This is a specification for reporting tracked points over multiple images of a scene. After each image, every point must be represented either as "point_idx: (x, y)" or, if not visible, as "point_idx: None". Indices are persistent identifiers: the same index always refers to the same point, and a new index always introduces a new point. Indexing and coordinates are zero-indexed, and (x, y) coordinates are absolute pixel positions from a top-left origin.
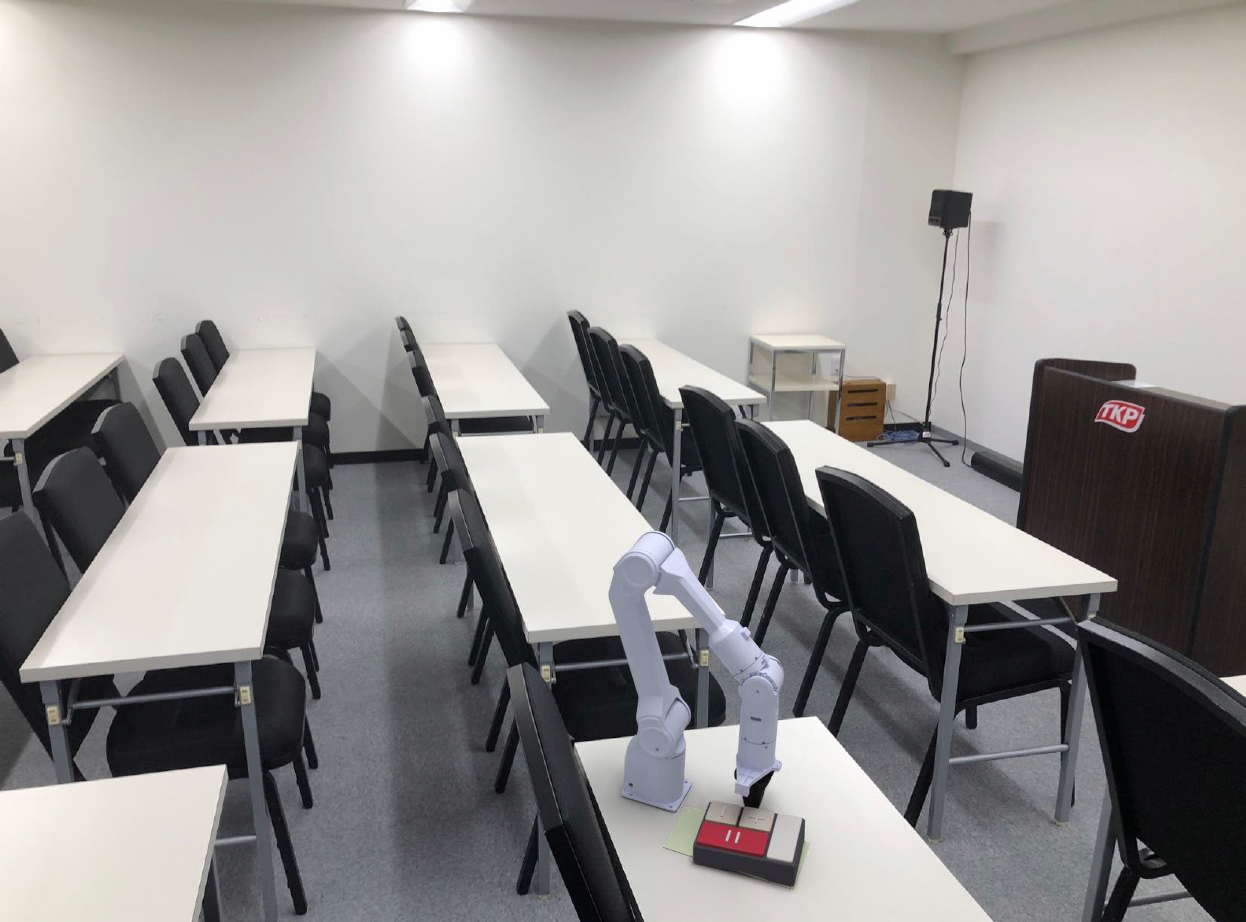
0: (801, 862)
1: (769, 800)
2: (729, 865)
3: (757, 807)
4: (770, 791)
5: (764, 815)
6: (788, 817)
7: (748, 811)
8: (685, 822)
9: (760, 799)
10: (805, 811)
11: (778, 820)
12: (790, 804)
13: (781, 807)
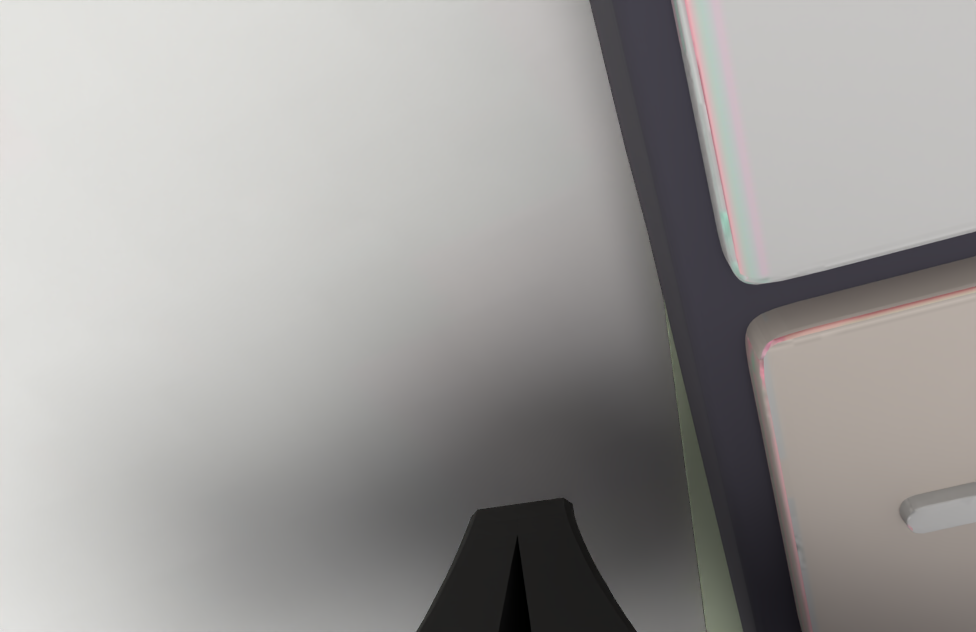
0: None
1: (200, 460)
2: None
3: (580, 536)
4: (70, 507)
5: (917, 429)
6: (773, 100)
7: (912, 617)
8: None
9: (615, 610)
10: (58, 68)
11: (924, 209)
12: (87, 266)
13: (207, 322)
